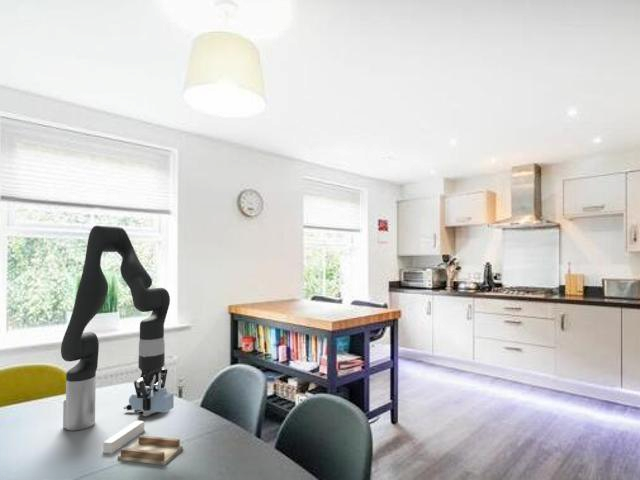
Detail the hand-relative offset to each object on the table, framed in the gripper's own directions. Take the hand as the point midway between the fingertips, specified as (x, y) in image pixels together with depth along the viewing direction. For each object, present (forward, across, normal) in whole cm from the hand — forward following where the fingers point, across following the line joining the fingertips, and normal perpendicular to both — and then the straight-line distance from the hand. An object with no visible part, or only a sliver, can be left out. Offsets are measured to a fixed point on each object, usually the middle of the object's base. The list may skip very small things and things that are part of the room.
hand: (151, 407), depth 122 cm
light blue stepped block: (0, 0, 0) cm, 1 cm away
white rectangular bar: (+15, -6, -14) cm, 21 cm away
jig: (+14, 0, 0) cm, 14 cm away
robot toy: (+15, -29, -22) cm, 39 cm away
